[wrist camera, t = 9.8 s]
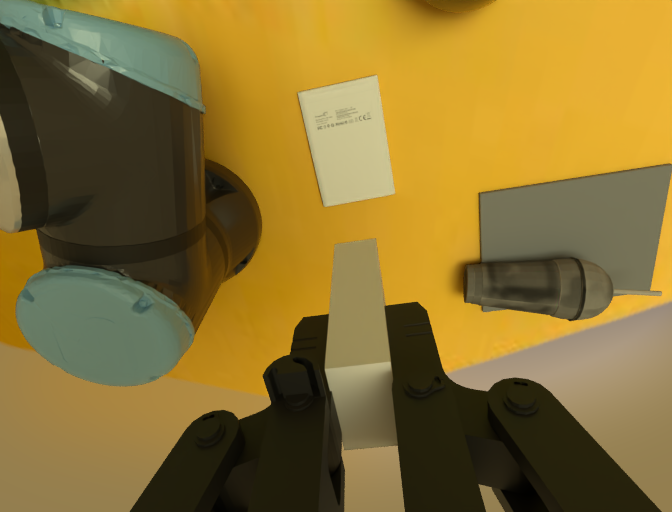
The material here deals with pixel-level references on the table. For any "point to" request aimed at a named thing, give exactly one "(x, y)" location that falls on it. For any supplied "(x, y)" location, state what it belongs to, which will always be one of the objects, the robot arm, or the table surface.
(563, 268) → the beverage cup
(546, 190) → the mat
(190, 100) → the robot arm
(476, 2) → the black tapered dome
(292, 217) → the table surface
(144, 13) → the table surface
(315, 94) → the external hard drive
